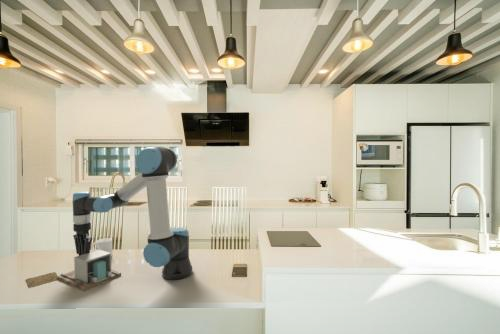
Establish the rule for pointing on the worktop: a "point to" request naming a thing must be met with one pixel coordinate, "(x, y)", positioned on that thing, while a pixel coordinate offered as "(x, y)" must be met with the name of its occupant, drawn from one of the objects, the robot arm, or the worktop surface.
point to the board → (92, 280)
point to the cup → (103, 245)
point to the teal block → (99, 269)
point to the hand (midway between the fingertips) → (83, 268)
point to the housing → (90, 263)
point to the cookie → (41, 279)
